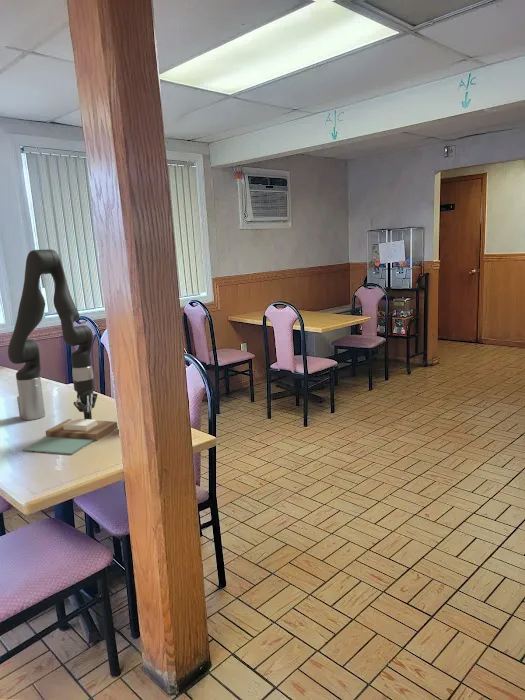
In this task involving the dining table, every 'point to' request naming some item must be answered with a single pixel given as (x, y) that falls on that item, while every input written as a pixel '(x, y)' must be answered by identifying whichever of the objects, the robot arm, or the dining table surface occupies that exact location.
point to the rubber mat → (59, 445)
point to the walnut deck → (93, 433)
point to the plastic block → (80, 424)
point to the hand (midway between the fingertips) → (88, 420)
